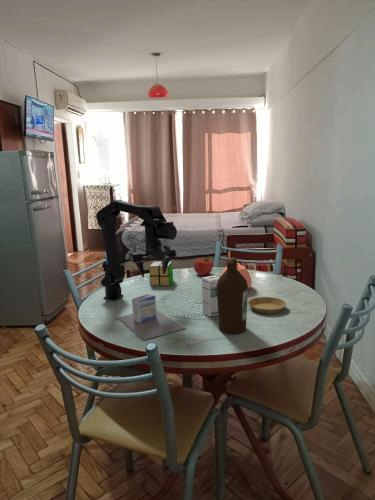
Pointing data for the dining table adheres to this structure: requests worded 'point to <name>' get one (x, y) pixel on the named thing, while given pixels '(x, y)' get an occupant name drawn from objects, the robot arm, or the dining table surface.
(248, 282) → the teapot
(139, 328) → the rubber mat
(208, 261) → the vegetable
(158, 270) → the puzzle cube
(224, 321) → the olive oil
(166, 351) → the dining table surface
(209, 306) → the syrup box
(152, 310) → the medicine box
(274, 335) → the dining table surface
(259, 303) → the plant saucer
